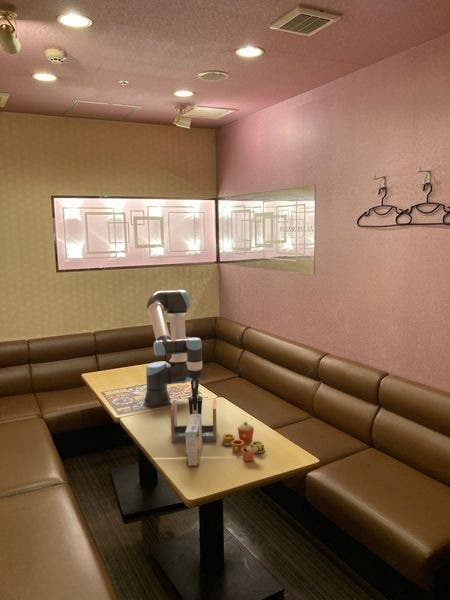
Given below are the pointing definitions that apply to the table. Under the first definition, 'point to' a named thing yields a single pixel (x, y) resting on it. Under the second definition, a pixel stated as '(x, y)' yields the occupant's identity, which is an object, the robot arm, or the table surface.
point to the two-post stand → (179, 431)
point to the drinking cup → (199, 400)
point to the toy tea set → (245, 437)
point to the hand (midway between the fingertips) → (195, 412)
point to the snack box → (193, 440)
